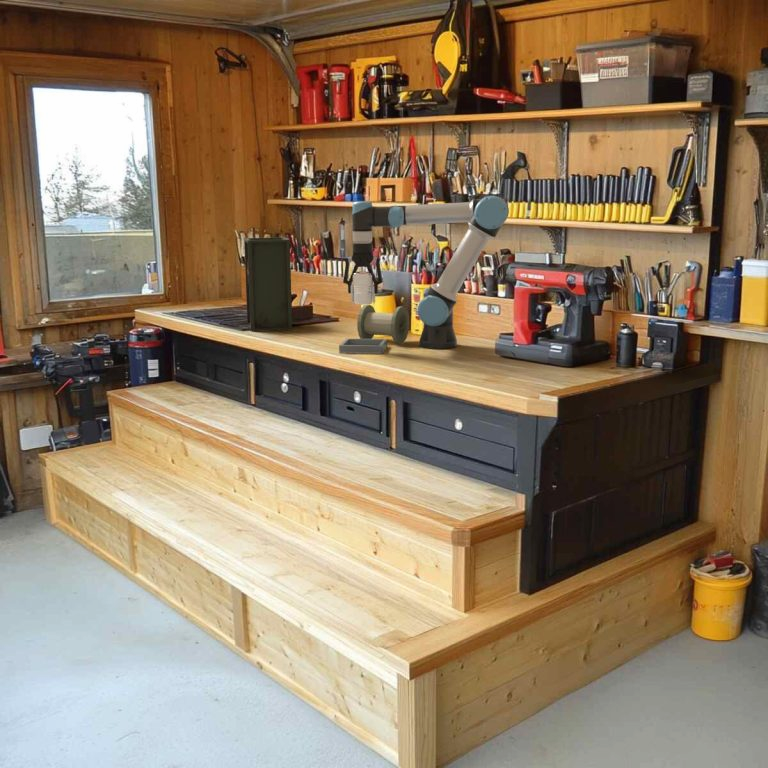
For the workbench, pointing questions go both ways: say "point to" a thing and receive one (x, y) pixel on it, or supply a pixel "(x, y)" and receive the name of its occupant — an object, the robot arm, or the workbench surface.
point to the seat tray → (363, 346)
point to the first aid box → (268, 283)
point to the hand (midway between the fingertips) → (363, 301)
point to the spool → (383, 323)
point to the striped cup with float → (362, 287)
